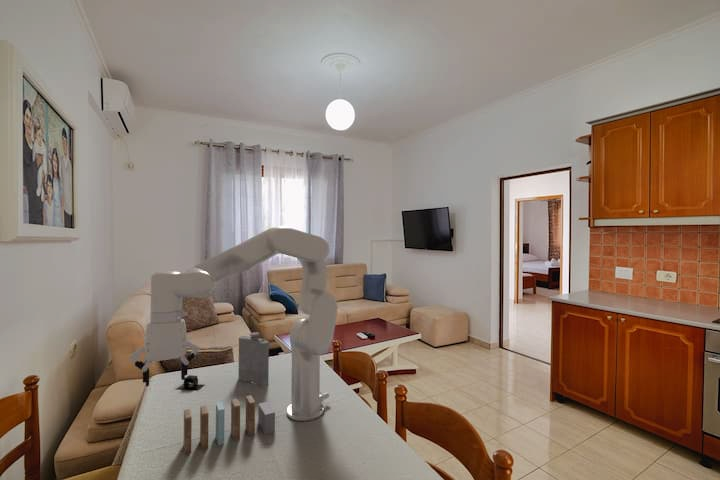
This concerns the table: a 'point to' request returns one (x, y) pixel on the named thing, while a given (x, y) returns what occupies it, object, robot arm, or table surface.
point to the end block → (266, 417)
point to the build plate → (188, 386)
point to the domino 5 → (250, 415)
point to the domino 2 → (204, 426)
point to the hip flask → (254, 359)
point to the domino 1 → (187, 431)
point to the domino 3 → (220, 423)
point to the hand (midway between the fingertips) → (165, 381)
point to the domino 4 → (235, 419)
